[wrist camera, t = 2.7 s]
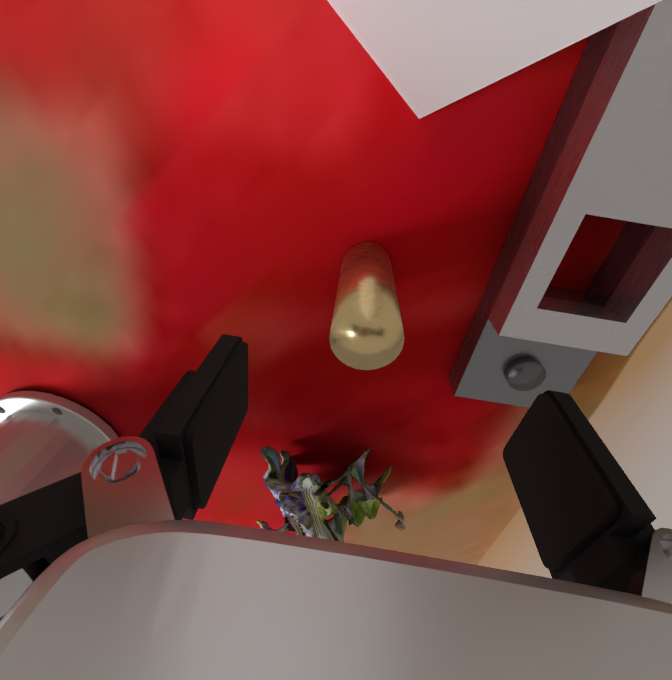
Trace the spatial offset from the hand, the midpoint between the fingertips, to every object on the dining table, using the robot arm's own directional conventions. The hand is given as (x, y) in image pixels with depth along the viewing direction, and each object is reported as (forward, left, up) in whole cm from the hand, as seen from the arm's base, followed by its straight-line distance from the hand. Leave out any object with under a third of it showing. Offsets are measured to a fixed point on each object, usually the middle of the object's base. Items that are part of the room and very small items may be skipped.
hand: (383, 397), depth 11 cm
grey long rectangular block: (+6, -10, -13) cm, 17 cm away
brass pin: (-1, 0, -13) cm, 13 cm away
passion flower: (-19, -7, -13) cm, 24 cm away
